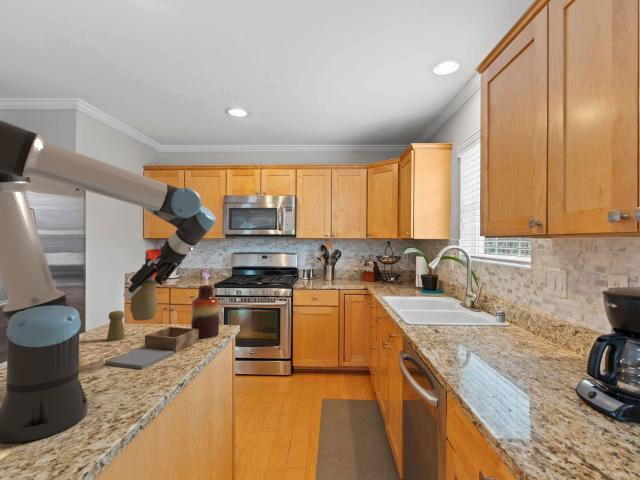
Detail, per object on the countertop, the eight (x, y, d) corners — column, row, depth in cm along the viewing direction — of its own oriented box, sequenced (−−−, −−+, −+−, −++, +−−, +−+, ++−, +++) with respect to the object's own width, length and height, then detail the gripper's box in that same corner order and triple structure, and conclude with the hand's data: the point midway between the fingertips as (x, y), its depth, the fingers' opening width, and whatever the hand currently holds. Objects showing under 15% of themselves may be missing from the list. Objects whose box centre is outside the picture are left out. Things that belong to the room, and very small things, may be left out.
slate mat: (142, 369, 99) (142, 365, 99) (105, 364, 102) (105, 361, 102) (174, 354, 112) (174, 351, 112) (140, 350, 116) (140, 347, 116)
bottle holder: (175, 352, 114) (176, 338, 114) (144, 349, 117) (144, 335, 117) (198, 342, 126) (198, 329, 126) (169, 339, 130) (170, 326, 130)
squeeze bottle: (145, 322, 103) (146, 265, 103) (123, 321, 105) (124, 264, 105) (163, 317, 111) (163, 263, 111) (142, 315, 113) (142, 263, 113)
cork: (110, 337, 132) (111, 309, 132) (127, 336, 133) (127, 309, 133) (103, 341, 126) (104, 312, 126) (121, 341, 127) (121, 312, 127)
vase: (186, 338, 131) (187, 287, 132) (197, 331, 142) (198, 284, 142) (213, 339, 131) (214, 287, 131) (222, 331, 142) (222, 284, 142)
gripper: (163, 256, 95) (116, 310, 99) (203, 254, 114) (162, 299, 118) (148, 238, 96) (102, 291, 100) (190, 239, 115) (150, 284, 119)
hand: (135, 295), depth 109 cm, fingers closed on squeeze bottle, 6 cm apart
